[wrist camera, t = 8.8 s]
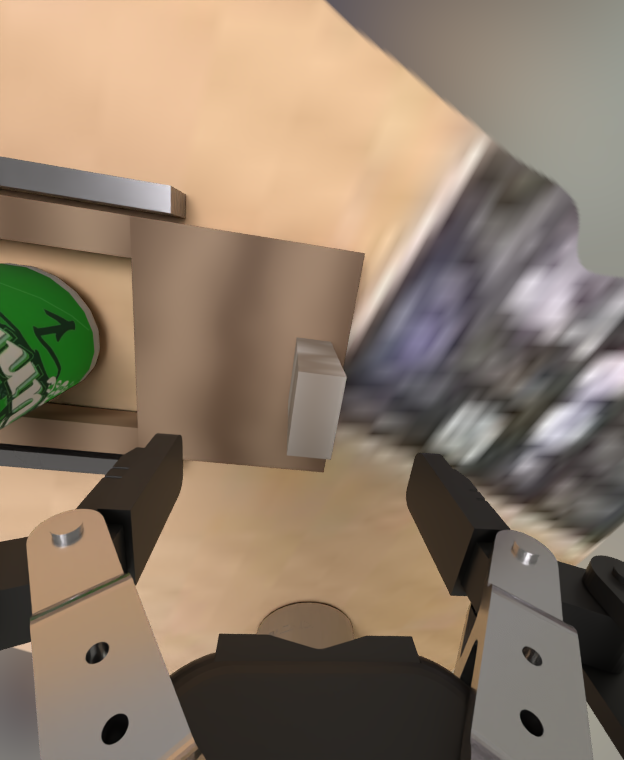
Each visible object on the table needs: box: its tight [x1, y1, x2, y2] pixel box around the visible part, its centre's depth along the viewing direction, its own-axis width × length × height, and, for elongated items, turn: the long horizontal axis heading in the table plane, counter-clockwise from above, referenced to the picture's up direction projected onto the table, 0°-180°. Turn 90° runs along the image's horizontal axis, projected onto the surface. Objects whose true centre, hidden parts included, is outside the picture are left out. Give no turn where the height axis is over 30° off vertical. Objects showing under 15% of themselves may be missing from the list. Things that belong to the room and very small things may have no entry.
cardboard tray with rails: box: [0, 195, 365, 472], centre depth 17 cm, size 25×14×8 cm, turn 82°
